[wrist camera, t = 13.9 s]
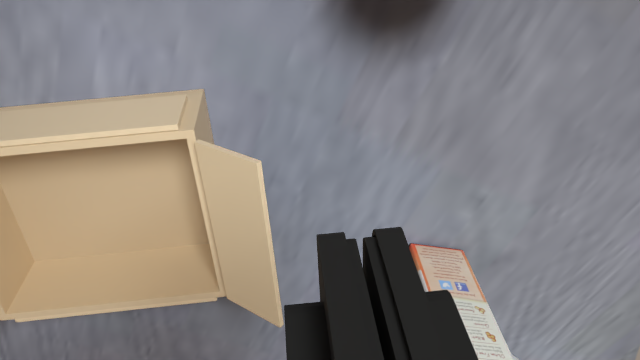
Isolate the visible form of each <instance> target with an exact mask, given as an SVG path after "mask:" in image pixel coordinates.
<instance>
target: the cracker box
mask: <svg viewBox="0 0 640 360" xmlns="http://www.w3.org/2000/svg"><path fill="white" fill-rule="evenodd" d="M409 249H410V252H411V254H412V257H413V260H414V263H415V266H416V268H417V271H418V274H419V277H420V280H421V282H422V285H423V288H424V291H425V292H428V291H438V290H448V291H449V292H450V293H451V295H452V297H453V299H454V302H455V304H456V307H457V309H458V311H459V314H460V316H461V319H462V321H463V323H464V326H465V328H466V331H467V333H468V335H469V338H470V340H471V343H472V345H473V347H474V350H475V352H476V355H477V357H478V360H514V359H513V357H512V355H511V353H510V351H509V348H508V346H507V344H506V342H505V340H504V338H503V335H502V333H501V331H500V329H499V327H498V325H497V323H496V320H495V318H494V316H493V314H492V312H491V310H490V307H489V305H488V303H487V301H486V299H485V297H484V294H483V292H482V290H481V288H480V286H479V284H478V281H477V279H476V277H475V275H474V273H473V271H472V269H471V266H470V264H469V262H468V260H467V258H466V256H465V254H464V252H463V250H457V249H450V248H442V247H434V246H427V245H419V244H412V243H411V244H410V247H409Z"/></svg>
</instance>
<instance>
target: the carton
mask: <svg viewBox="0 0 640 360" xmlns="http://www.w3.org/2000/svg"><path fill="white" fill-rule="evenodd" d="M197 140H202V141H205V142H208V143H211V144H214V140H213V135H212V130H211V124H210V119H209V114H208V108H207V103H206V98H205V92H204V89H197V90H186V91H175V92H164V93H153V94H142V95H132V96H121V97H110V98H99V99H88V100H77V101H66V102H55V103H45V104H34V105H23V106H12V107H1V108H0V320H1V321H2V320H11V319H15V321H16V322H24V321H33V320H42V319H52V318H61V317H70V316H80V315H89V314H98V313H107V312H117V311H126V310H135V309H145V308H154V307H163V306H172V305H182V304H191V303H200V302H210V301H217V297H226V291H225V286H224V281H223V277H222V272H221V267H220V262H219V258H218V253H217V248H216V243H215V238H214V234H213V229H212V224H211V219H210V215H209V210H208V205H207V200H206V195H205V191H204V186H203V181H202V176H201V172H200V167H199V162H198V157H197V153H196V148H195V143H194V142H195V141H197Z"/></svg>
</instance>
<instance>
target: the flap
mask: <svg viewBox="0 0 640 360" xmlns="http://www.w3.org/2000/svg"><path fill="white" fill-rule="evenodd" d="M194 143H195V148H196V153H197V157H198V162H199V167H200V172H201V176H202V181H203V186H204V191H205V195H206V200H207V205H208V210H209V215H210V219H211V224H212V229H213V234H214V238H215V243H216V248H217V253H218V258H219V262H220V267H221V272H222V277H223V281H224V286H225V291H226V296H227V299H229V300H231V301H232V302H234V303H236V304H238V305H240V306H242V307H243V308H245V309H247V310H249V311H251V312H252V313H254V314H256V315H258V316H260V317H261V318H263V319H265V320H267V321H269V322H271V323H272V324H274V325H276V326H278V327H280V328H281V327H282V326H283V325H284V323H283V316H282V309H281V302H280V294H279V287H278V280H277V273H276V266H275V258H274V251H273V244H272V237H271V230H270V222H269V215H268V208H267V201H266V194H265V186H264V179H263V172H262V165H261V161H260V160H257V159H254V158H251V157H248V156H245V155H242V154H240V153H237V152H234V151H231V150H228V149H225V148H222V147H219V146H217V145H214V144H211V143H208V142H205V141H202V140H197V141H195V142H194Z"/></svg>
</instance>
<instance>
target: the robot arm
mask: <svg viewBox="0 0 640 360" xmlns="http://www.w3.org/2000/svg"><path fill="white" fill-rule="evenodd" d="M317 252H318V269H319V286H320V302H315V303H304V304H294V305H284V311H285V332H286V352H287V360H478V357H477V355H476V352H475V350H474V347H473V345H472V343H471V340H470V338H469V335H468V333H467V331H466V328H465V326H464V323H463V321H462V319H461V316H460V314H459V311H458V309H457V307H456V304H455V302H454V299H453V297H452V295H451V293H450V292H449V291H448V290H438V291H428V292H425V291H424V288H423V285H422V282H421V280H420V277H419V274H418V271H417V268H416V266H415V263H414V260H413V257H412V254H411V252H410V249H409V246H408V243H407V241H406V238H405V235H404V232H403V230H402V228H401V227H396V228H385V229H374V230H373V233H372V237H366V238H363V267H362V263H361V259H360V255H359V250H358V246H357V242H356V239H346V238H345V234H344V232H341V233H330V234H319V235H317Z"/></svg>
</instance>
